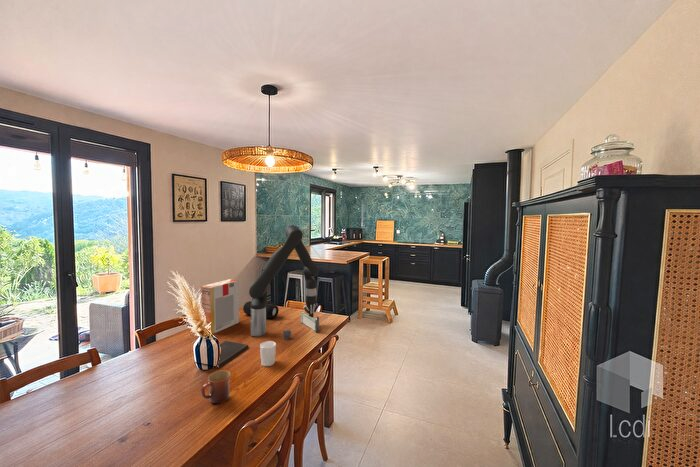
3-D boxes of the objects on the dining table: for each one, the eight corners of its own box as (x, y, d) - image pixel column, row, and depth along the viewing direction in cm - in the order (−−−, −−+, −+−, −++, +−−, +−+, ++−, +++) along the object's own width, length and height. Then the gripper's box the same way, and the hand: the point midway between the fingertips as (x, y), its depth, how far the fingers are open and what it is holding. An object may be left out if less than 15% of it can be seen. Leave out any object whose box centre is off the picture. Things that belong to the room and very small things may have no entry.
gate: (317, 330, 190) (317, 319, 189) (314, 331, 189) (314, 320, 188) (303, 321, 204) (303, 312, 204) (300, 322, 203) (300, 312, 202)
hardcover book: (193, 363, 148) (193, 359, 148) (225, 344, 170) (225, 340, 170) (219, 369, 143) (219, 364, 143) (248, 348, 165) (248, 344, 165)
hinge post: (315, 333, 187) (316, 318, 186) (314, 331, 189) (315, 316, 188) (319, 332, 187) (319, 317, 187) (318, 331, 190) (318, 316, 189)
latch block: (284, 339, 176) (284, 331, 176) (283, 337, 179) (283, 330, 178) (290, 338, 178) (290, 330, 177) (289, 337, 180) (289, 329, 180)
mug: (222, 390, 125) (222, 367, 125) (235, 397, 121) (235, 374, 120) (195, 405, 115) (195, 381, 115) (208, 414, 111) (208, 388, 110)
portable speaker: (279, 316, 216) (279, 303, 215) (271, 320, 206) (271, 307, 206) (250, 311, 224) (250, 299, 223) (242, 316, 215) (242, 303, 214)
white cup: (279, 361, 151) (279, 342, 150) (268, 368, 144) (268, 349, 143) (267, 357, 154) (267, 339, 153) (256, 364, 147) (256, 345, 146)
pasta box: (230, 320, 205) (230, 279, 203) (239, 322, 202) (238, 280, 200) (202, 332, 185) (201, 286, 182) (211, 334, 181) (210, 287, 179)
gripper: (305, 297, 191) (305, 322, 193) (322, 293, 199) (322, 317, 201) (299, 294, 197) (300, 319, 198) (316, 291, 205) (316, 314, 207)
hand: (311, 318), depth 200 cm, fingers closed
